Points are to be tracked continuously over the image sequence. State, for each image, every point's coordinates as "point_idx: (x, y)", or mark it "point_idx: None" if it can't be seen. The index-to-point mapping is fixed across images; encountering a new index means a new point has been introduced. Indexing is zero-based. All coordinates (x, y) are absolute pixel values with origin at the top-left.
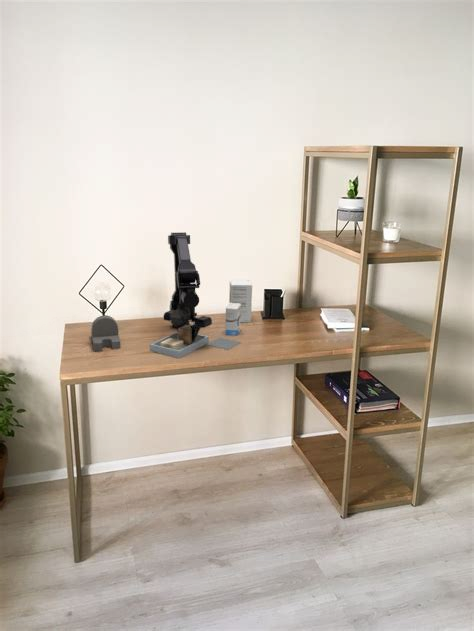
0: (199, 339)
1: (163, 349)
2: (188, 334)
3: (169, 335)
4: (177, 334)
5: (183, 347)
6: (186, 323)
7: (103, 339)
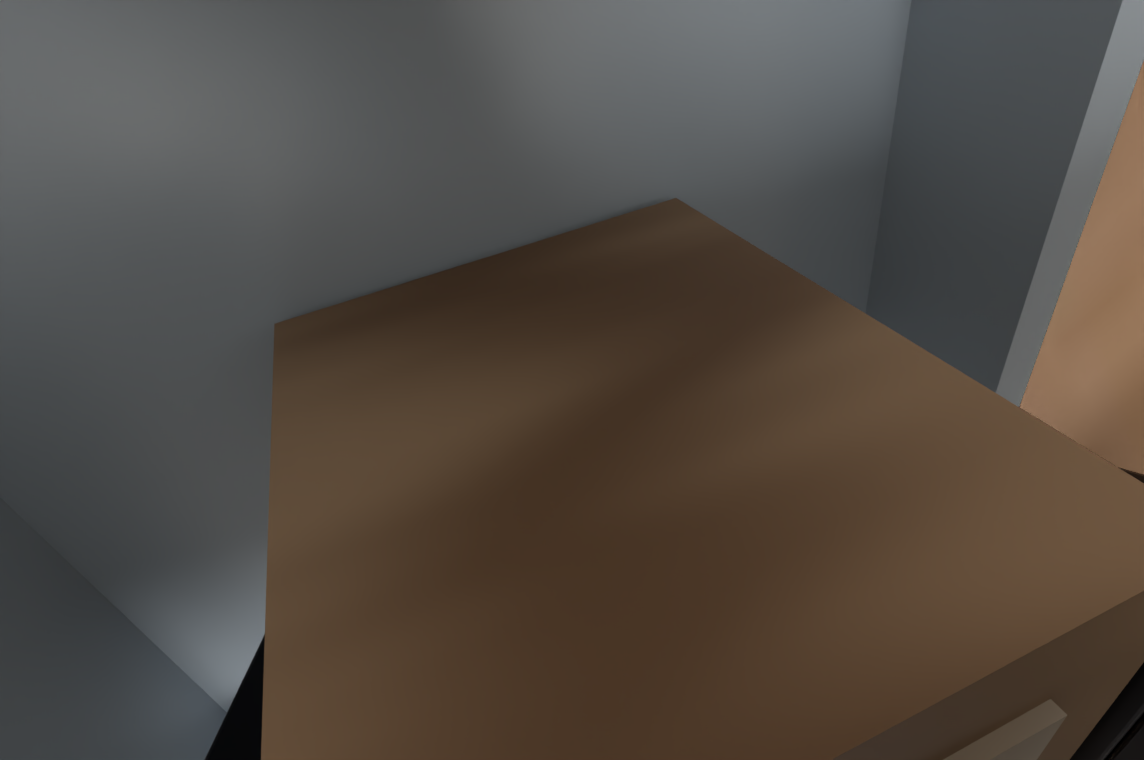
0: None
1: None
2: (322, 649)
3: (1113, 143)
4: None
5: (250, 52)
6: None
7: None
